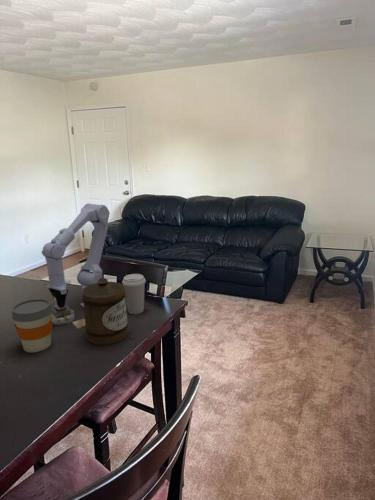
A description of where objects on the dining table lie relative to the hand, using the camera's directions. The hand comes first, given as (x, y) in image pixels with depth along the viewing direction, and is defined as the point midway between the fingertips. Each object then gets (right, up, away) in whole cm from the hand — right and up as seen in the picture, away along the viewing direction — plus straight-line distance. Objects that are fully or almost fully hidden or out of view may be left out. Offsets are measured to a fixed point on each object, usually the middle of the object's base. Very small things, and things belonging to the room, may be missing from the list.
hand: (60, 305), depth 146 cm
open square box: (+1, -3, 0) cm, 3 cm away
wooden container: (+21, -9, -11) cm, 26 cm away
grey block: (0, -3, +1) cm, 3 cm away
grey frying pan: (-3, -7, 0) cm, 7 cm away
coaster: (+10, -7, -2) cm, 12 cm away
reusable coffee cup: (-2, -12, -17) cm, 21 cm away
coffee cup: (+29, -4, +8) cm, 30 cm away
